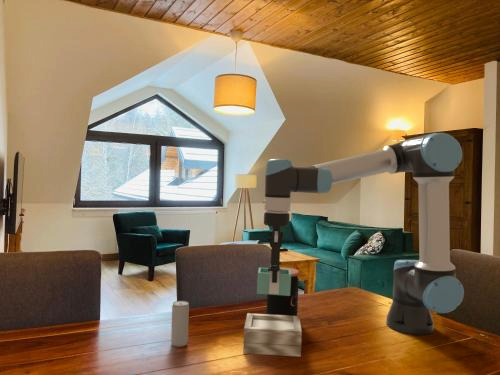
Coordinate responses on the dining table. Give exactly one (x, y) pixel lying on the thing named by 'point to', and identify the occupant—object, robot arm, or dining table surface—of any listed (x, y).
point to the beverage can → (180, 323)
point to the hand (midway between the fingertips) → (273, 289)
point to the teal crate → (264, 281)
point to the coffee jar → (285, 298)
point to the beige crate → (272, 335)
